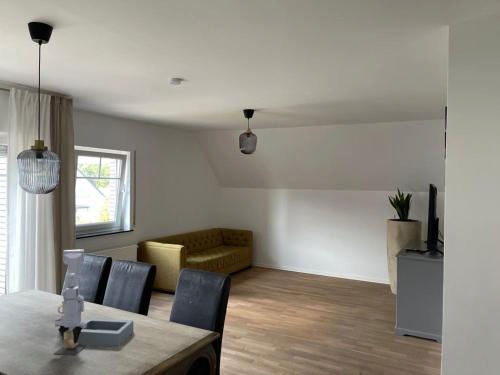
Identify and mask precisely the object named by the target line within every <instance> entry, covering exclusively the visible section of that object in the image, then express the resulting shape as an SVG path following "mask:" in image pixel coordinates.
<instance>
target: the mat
mask: <svg viewBox="0 0 500 375" xmlns="http://www.w3.org/2000/svg"><path fill="white" fill-rule="evenodd" d="M86 347H87V344H78V345H76V346H75V347H74V348H64V345H63V346H62V347H61V348H58V349H57V350H56V351H55V352H53V355H60V356H61V355H62V356H76V355H78V353H80V352H81V351H82V350H84V349H85V348H86Z"/></svg>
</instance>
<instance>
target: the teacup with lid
mask: <svg viewBox="0 0 500 375" xmlns="http://www.w3.org/2000/svg"><path fill="white" fill-rule="evenodd" d="M61 303H62V304H61V305H59V306H58V308H57V312H58V314H60V315H61V316H62V315H63V314H64V313H63V304H64V300H63V299H62V301H61ZM61 308H62V311H60V309H61Z"/></svg>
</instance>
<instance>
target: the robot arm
mask: <svg viewBox="0 0 500 375" xmlns="http://www.w3.org/2000/svg"><path fill="white" fill-rule="evenodd" d="M62 252H63V253H62V262H63V263H64V264H65V265H67V269H68V274H67V275H66V276H65V281H64V282H65V284H64V289H63V292H62V301H63V300H64V304H63V303H62V305H63V313H64V314H63V315H62V314H61V317H60V320H57V321H55V322H54V327H55V328H57V327H59V328H58V332H59V333H60V336H61V337H62V341H63V342H64V332H65V331H67V330H69V329H73V330H72V331H73V335H74V343H77V342H78V338H79V335H80V332H81V330H82V328H86V327H87V323H84V322H85V321H84V322H83V321H82V313H83V312H84V309H85V308H84V307H85V300H84V299H85V298H84V296H83V295H80V288H79V287H80V286H79V267H80V265H81V264H83V263H85V262H84V261H85V249H84V248H82V249H79V248H78V249H63V251H62Z"/></svg>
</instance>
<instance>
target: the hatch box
mask: <svg viewBox="0 0 500 375" xmlns="http://www.w3.org/2000/svg"><path fill="white" fill-rule="evenodd" d="M84 323H87V327H86V328H82V330H81V332H80V335H79V338H78V345H90V346H91V345H93V346H94V345H95V346H111V347H119V346H120V345H121V344H122V343H123V342H125V340H126V339H128V337H130V336H131V335H132V334H133V333H134V320H133V319H131V320H129V319H109V318H91V317H90V318H88V319H87V320H85V321H84Z"/></svg>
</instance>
